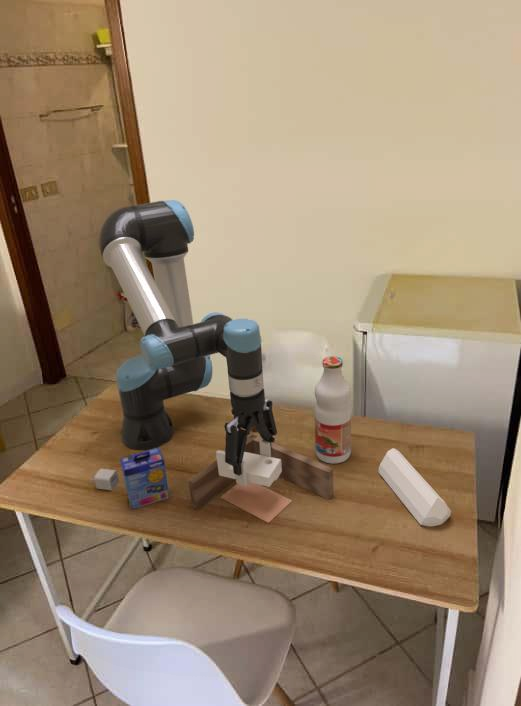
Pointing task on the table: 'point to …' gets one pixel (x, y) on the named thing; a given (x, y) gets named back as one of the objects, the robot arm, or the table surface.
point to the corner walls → (293, 470)
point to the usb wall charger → (105, 479)
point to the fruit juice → (332, 414)
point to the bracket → (252, 468)
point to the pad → (257, 500)
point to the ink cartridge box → (145, 478)
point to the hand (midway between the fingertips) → (254, 473)
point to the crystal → (413, 490)
